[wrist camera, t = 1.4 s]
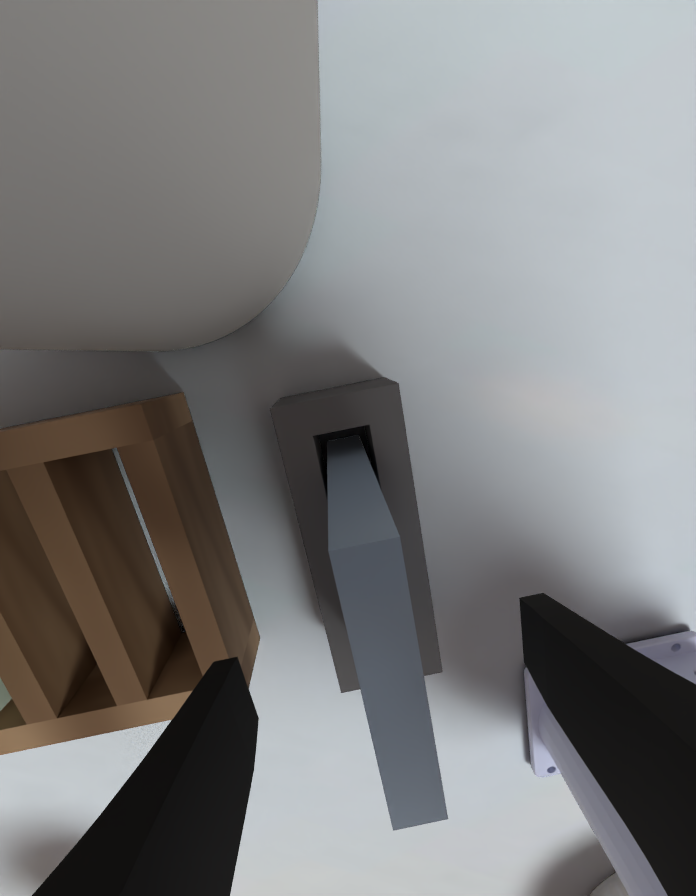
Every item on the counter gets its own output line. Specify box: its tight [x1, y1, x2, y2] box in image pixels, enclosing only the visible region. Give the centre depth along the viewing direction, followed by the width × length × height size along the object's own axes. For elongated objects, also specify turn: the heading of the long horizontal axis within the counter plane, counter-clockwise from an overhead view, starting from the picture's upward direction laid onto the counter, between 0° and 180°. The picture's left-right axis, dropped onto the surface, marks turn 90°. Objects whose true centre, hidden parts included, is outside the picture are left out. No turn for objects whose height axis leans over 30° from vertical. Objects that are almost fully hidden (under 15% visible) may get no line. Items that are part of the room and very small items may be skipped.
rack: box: [0, 392, 260, 755], centre depth 14 cm, size 12×12×4 cm
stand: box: [270, 377, 442, 693], centre depth 15 cm, size 4×12×3 cm, turn 11°
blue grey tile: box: [327, 435, 448, 831], centre depth 12 cm, size 1×8×9 cm, turn 10°
